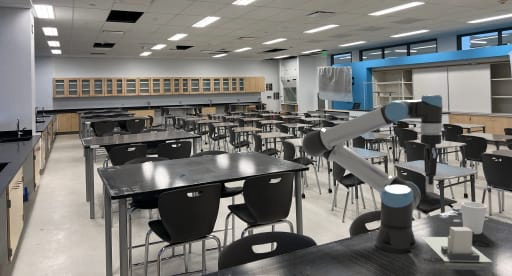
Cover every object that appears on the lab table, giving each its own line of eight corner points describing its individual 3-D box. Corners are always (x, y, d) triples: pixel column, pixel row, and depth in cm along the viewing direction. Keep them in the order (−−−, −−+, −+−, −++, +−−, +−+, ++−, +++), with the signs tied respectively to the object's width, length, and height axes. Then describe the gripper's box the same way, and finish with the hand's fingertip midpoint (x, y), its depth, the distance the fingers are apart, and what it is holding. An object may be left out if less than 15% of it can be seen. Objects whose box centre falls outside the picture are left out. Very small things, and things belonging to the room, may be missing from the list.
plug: (450, 258, 134) (451, 230, 133) (446, 253, 138) (446, 226, 137) (474, 258, 133) (475, 230, 133) (469, 254, 137) (470, 227, 137)
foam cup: (487, 234, 161) (489, 204, 159) (482, 240, 154) (484, 209, 153) (463, 229, 167) (464, 200, 166) (456, 234, 160) (458, 205, 159)
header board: (444, 265, 132) (445, 255, 132) (420, 240, 155) (421, 232, 154) (492, 266, 131) (492, 256, 130) (461, 240, 154) (461, 232, 153)
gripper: (445, 135, 143) (444, 196, 146) (436, 132, 156) (435, 188, 158) (424, 135, 145) (423, 195, 147) (417, 132, 158) (416, 187, 160)
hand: (429, 191), depth 153 cm, fingers closed
